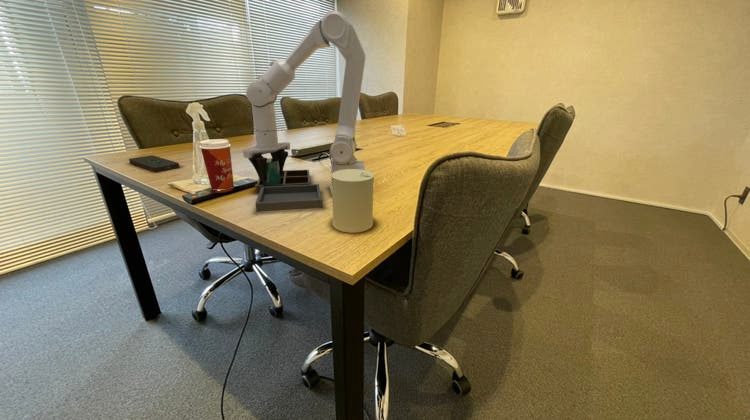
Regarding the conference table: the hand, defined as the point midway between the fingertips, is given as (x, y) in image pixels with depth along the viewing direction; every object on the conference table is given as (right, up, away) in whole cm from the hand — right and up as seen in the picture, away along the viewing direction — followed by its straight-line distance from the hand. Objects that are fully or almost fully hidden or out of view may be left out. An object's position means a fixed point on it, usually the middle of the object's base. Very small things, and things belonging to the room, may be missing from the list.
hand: (271, 178), depth 88 cm
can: (+25, -13, -19) cm, 34 cm away
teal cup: (0, -3, +1) cm, 3 cm away
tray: (+8, -7, -8) cm, 13 cm away
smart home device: (-49, +7, +21) cm, 54 cm away
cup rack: (+3, -1, +5) cm, 6 cm away
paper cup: (-13, -4, -1) cm, 14 cm away
